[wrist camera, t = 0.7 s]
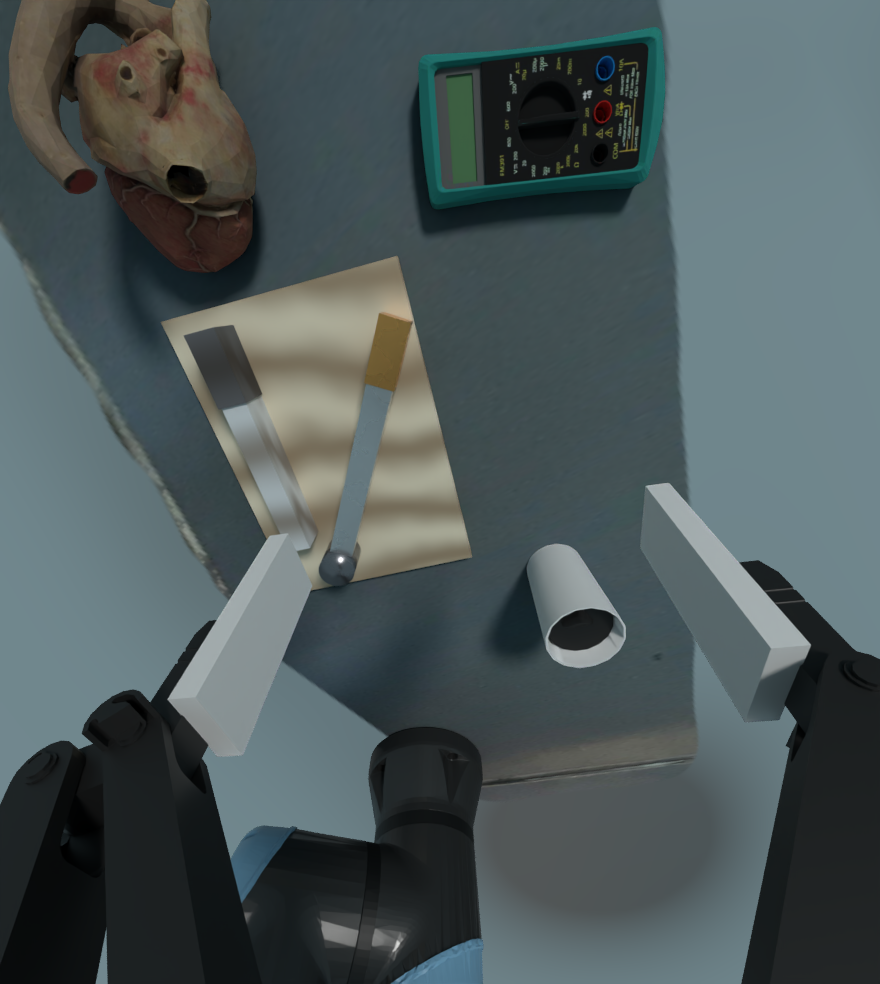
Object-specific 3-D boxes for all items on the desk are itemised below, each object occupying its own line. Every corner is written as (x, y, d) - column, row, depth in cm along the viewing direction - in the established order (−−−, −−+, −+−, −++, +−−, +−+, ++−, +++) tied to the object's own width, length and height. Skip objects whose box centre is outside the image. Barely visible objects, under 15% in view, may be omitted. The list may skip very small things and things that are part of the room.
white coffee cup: (509, 567, 43) (528, 638, 34) (560, 528, 41) (595, 592, 32) (548, 603, 45) (576, 679, 36) (598, 567, 43) (642, 638, 34)
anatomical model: (249, 259, 35) (168, -20, 26) (315, 265, 30) (244, -73, 21) (75, 291, 27) (-132, -94, 18) (127, 304, 22) (-115, -204, 13)
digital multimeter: (640, 189, 30) (661, 177, 27) (428, 212, 30) (427, 203, 28) (653, 46, 27) (678, 17, 24) (416, 75, 27) (413, 49, 24)
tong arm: (357, 566, 41) (350, 589, 38) (325, 559, 41) (315, 581, 38) (418, 322, 32) (416, 325, 29) (378, 310, 32) (371, 311, 28)
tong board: (471, 551, 42) (474, 576, 38) (296, 588, 44) (283, 615, 40) (398, 257, 31) (392, 251, 27) (168, 321, 33) (133, 324, 29)
